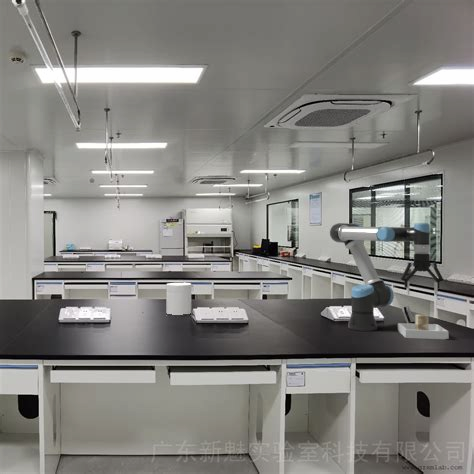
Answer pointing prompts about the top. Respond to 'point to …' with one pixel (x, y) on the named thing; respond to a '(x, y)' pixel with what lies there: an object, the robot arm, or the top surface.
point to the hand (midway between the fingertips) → (421, 294)
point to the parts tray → (423, 331)
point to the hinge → (408, 315)
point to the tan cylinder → (421, 322)
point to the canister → (178, 298)
